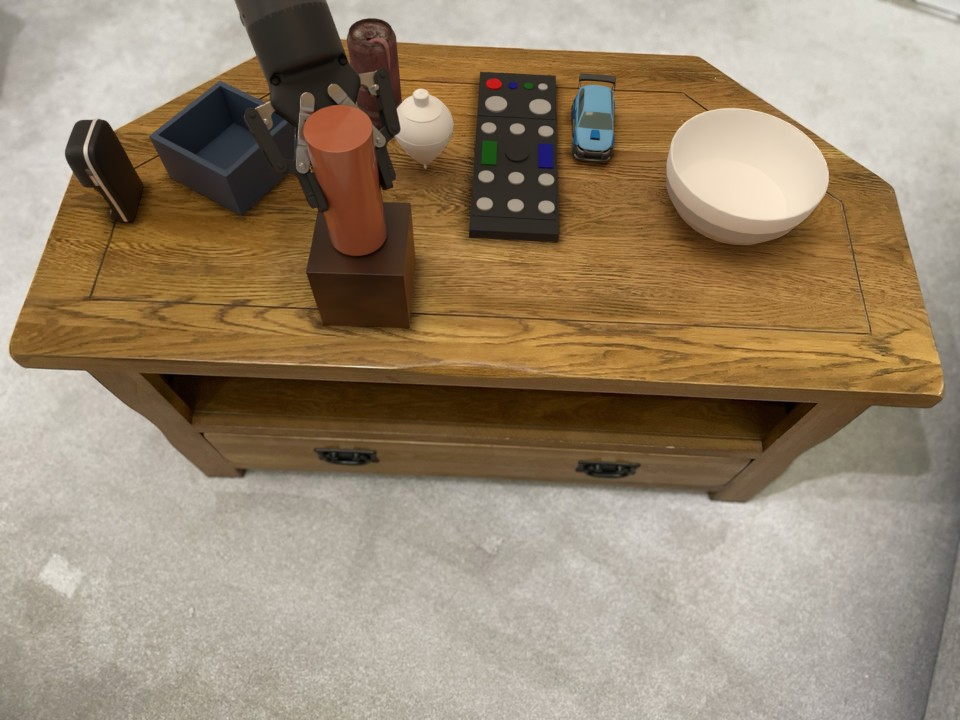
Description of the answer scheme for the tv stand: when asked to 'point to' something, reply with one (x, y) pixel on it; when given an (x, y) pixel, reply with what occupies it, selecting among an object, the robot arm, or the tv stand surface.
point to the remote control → (515, 159)
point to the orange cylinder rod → (347, 177)
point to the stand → (365, 275)
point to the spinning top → (424, 126)
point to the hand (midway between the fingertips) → (356, 199)
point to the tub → (221, 148)
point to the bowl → (744, 175)
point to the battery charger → (104, 167)
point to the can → (374, 60)
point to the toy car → (593, 120)
